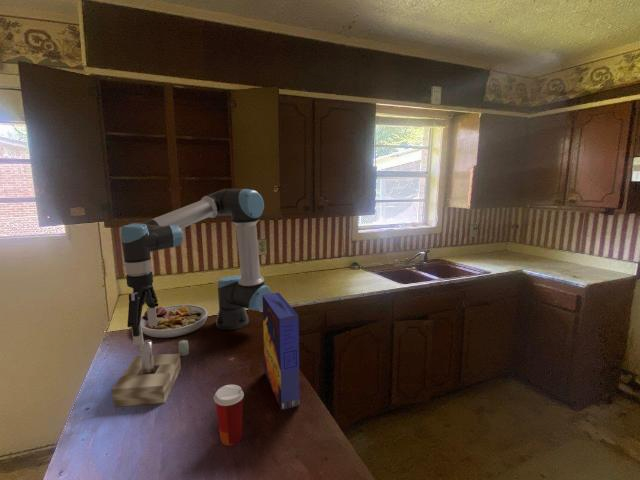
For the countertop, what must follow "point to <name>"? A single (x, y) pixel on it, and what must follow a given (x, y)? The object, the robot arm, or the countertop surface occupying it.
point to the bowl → (174, 321)
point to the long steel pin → (147, 357)
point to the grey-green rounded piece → (183, 348)
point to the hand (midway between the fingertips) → (146, 334)
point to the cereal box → (281, 349)
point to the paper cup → (229, 413)
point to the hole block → (147, 381)
